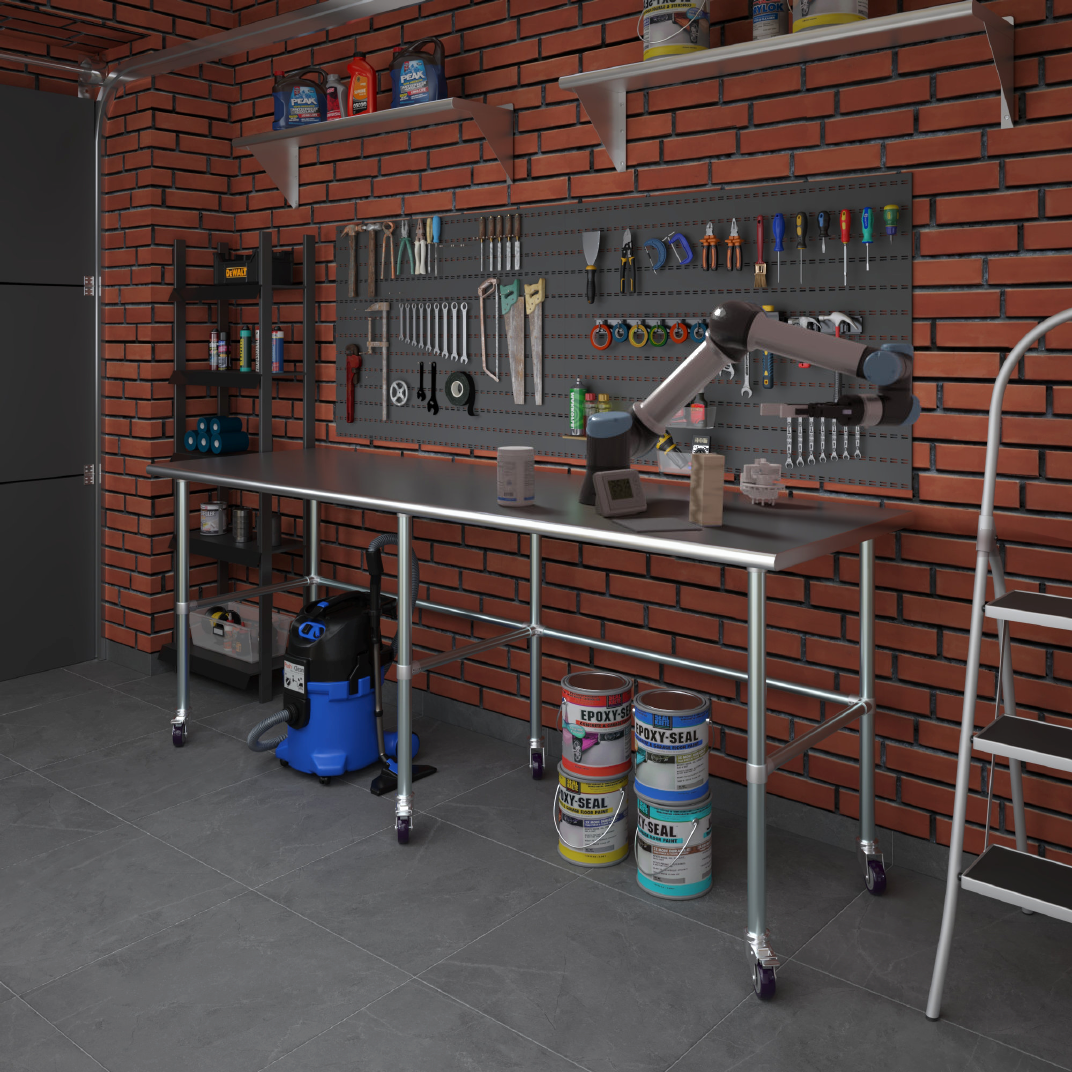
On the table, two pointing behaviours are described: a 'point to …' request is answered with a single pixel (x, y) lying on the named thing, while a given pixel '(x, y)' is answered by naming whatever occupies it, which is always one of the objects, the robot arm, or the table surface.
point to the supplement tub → (515, 476)
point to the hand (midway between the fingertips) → (770, 410)
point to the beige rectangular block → (706, 489)
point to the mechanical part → (761, 481)
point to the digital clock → (618, 493)
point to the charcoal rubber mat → (656, 524)
